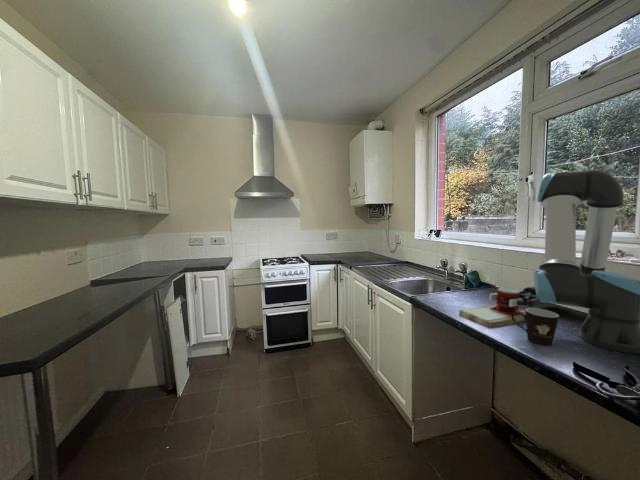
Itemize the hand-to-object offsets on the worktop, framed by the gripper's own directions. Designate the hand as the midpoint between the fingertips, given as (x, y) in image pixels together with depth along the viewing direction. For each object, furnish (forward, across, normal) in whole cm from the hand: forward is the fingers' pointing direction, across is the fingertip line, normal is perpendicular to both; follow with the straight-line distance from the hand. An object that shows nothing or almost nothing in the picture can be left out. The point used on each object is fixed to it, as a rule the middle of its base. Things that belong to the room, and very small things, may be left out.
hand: (499, 300), depth 110 cm
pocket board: (+1, 0, -7) cm, 7 cm away
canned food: (-5, 0, -7) cm, 9 cm away
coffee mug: (+9, -19, -7) cm, 22 cm away
